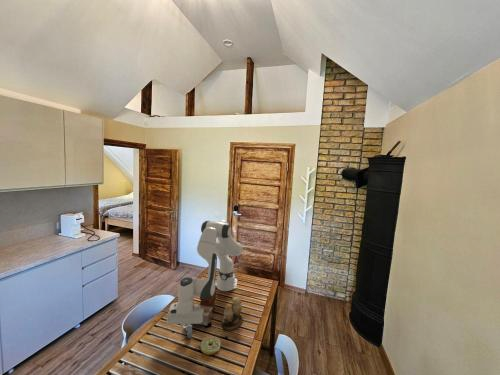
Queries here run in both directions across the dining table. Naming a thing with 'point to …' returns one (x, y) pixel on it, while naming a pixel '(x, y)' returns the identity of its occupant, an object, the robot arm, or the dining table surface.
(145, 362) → the dining table surface
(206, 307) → the tan boxy piece
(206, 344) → the decorated donut
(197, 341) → the dining table surface
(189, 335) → the lever handle with knob
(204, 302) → the wooden figurine
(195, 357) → the dining table surface
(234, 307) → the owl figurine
